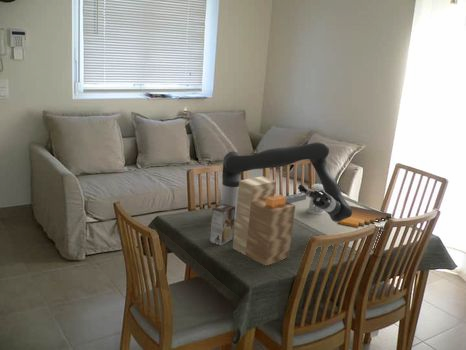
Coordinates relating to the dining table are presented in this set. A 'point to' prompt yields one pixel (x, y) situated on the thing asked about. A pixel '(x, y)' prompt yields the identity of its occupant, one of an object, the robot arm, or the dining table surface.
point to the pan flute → (364, 217)
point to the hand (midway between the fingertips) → (306, 189)
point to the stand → (262, 222)
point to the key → (284, 200)
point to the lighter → (378, 234)
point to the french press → (313, 208)
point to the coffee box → (222, 224)
